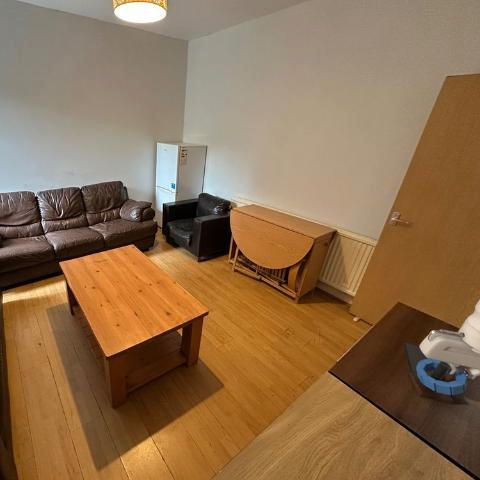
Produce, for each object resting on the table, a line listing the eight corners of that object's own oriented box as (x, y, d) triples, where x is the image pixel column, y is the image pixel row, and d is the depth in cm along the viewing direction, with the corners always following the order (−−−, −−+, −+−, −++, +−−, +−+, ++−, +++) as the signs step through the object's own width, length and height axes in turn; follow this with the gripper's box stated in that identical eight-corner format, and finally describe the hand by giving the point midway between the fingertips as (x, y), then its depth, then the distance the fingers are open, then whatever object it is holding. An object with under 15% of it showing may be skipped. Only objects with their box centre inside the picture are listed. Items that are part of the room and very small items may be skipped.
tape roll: (452, 365, 74) (452, 357, 73) (476, 396, 66) (475, 387, 65) (411, 365, 78) (410, 358, 77) (428, 394, 70) (427, 386, 69)
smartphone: (432, 350, 86) (444, 384, 75) (430, 352, 86) (443, 386, 75) (403, 340, 90) (411, 372, 78) (402, 342, 90) (409, 374, 79)
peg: (436, 382, 76) (453, 357, 72) (451, 404, 70) (471, 379, 66) (407, 375, 78) (422, 351, 74) (419, 396, 72) (436, 371, 68)
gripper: (440, 336, 64) (417, 373, 70) (556, 359, 58) (519, 397, 64) (427, 319, 69) (406, 355, 75) (531, 338, 63) (499, 375, 69)
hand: (459, 374), depth 69 cm, fingers closed
